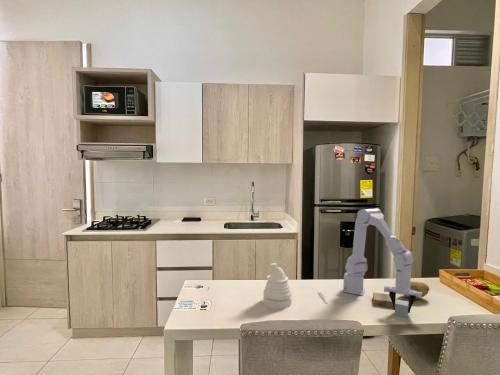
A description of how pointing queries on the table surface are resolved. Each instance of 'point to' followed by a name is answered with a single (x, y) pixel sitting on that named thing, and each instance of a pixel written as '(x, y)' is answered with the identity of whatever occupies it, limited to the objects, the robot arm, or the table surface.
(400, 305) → the cube
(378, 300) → the walnut block
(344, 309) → the table surface
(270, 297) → the honey pot
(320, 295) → the butter knife
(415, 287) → the potato
